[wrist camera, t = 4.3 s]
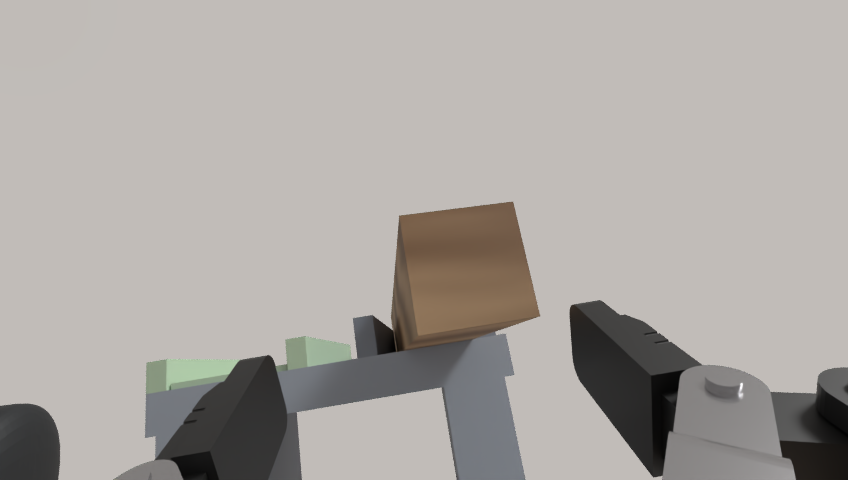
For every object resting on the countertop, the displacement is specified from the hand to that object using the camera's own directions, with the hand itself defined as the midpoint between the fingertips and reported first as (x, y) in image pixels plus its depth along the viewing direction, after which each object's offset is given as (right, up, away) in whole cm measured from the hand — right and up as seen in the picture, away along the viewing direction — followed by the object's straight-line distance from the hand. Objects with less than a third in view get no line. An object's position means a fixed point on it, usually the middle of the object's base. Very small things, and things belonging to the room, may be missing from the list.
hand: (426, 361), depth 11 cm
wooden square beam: (0, -3, +13) cm, 13 cm away
